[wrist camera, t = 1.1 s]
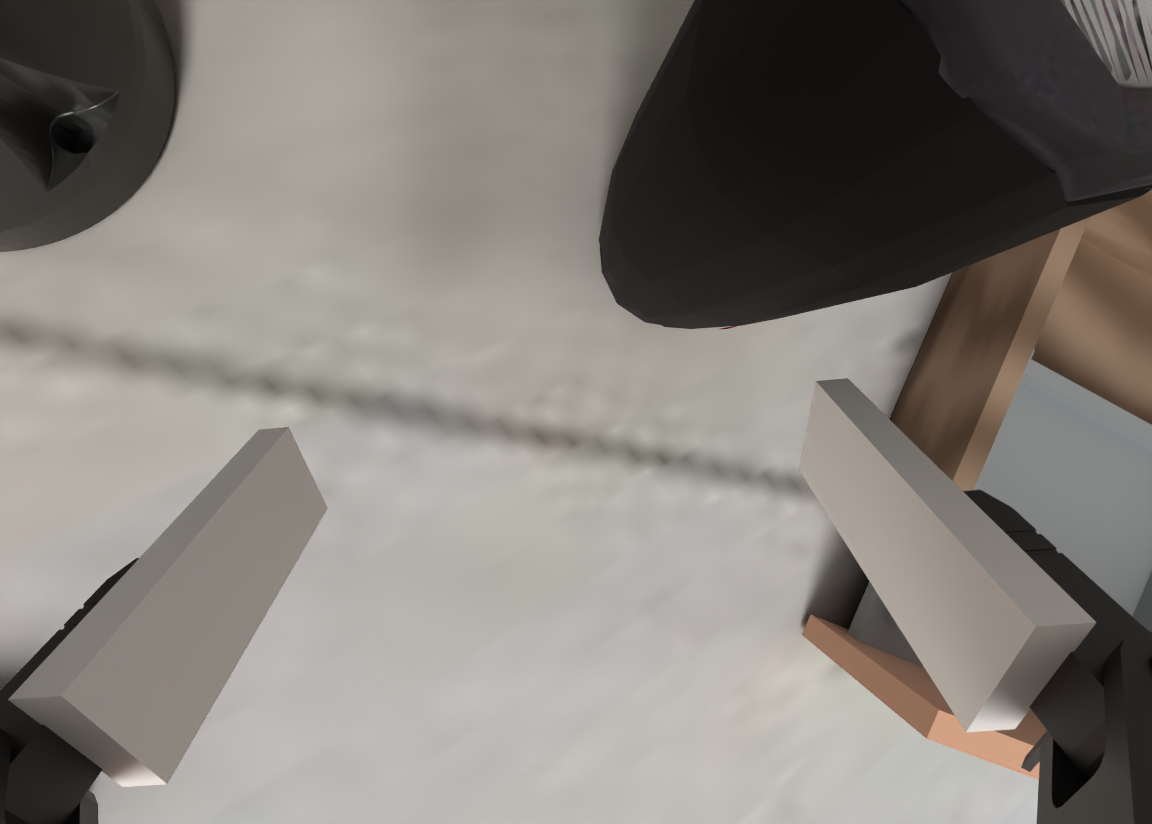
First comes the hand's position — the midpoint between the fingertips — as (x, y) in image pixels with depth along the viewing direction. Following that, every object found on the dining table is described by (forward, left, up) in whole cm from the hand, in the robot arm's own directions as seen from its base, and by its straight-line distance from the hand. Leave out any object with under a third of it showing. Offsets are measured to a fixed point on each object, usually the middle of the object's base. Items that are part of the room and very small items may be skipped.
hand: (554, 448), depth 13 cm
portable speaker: (-7, +9, -12) cm, 16 cm away
